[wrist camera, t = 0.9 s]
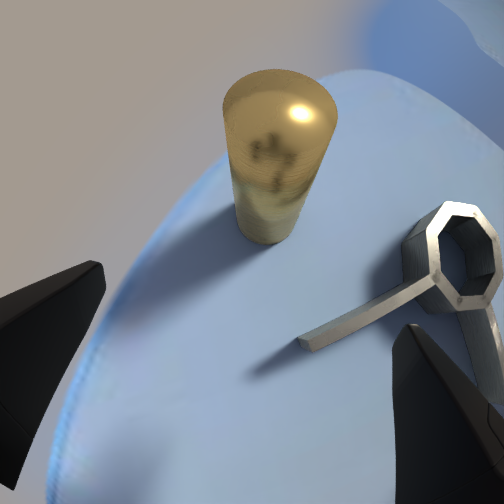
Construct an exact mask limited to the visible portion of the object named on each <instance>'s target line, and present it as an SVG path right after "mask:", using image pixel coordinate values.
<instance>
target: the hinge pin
mask: <svg viewBox="0 0 504 504" xmlns="http://www.w3.org/2000/svg"><path fill="white" fill-rule="evenodd" d="M223 117H224V125H225V133H226V140H227V148H228V156H229V164H230V171H231V179H232V186H233V194H234V201H235V209H236V216H237V223H238V226H239V228H240V230H241V232H242V233H243V234H244V235H245V236H246V237H247V238H248V239H249V240H251V241H253V242H255V243H258V244H262V245H271V244H276V243H279V242H281V241H283V240H284V239H285V238H287V237H288V236H289V235H290V233H291V232H292V230H293V228H294V226H295V224H296V221H297V219H298V217H299V214H300V212H301V210H302V207H303V205H304V203H305V200H306V198H307V196H308V193H309V191H310V188H311V186H312V184H313V181H314V179H315V177H316V174H317V172H318V169H319V167H320V164H321V162H322V160H323V157H324V155H325V152H326V150H327V147H328V145H329V143H330V140H331V138H332V135H333V133H334V130H335V128H336V124H337V119H338V113H337V108H336V104H335V102H334V100H333V98H332V97H331V95H330V94H329V92H328V91H327V90H326V89H325V88H324V87H323V86H322V85H320V84H319V83H318V82H316V81H315V80H313V79H312V78H310V77H307V76H305V75H303V74H300V73H297V72H293V71H289V70H280V69H271V70H263V71H258V72H254V73H251V74H249V75H247V76H245V77H243V78H241V79H240V80H238V81H237V82H236V83H235V84H234V85H233V86H232V87H231V88H230V89H229V90H228V92H227V94H226V96H225V98H224V102H223Z"/></svg>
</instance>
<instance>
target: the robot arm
mask: <svg viewBox="0 0 504 504" xmlns="http://www.w3.org/2000/svg"><path fill="white" fill-rule="evenodd" d="M105 291H106V281H105V276H104V269H103V266H102V264H101V263H99V262H96V261H92V260H89V261H86V262H84V263H81V264H79V265H76V266H74V267H71V268H69V269H67V270H64V271H62V272H59V273H57V274H54V275H52V276H50V277H47V278H45V279H43V280H40V281H38V282H36V283H33V284H31V285H29V286H27V287H24V288H22V289H19V290H17V291H15V292H13V293H10V294H8V295H6V296H4V297H2V298H0V483H1V484H2V485H4V486H6V487H7V488H9V489H11V490H14V489H15V487H16V484H17V481H18V478H19V475H20V472H21V470H22V467H23V465H24V462H25V459H26V457H27V454H28V452H29V449H30V447H31V444H32V442H33V438H34V437H35V434H36V432H37V429H38V428H39V425H40V423H41V421H42V418H43V416H44V414H45V412H46V410H47V408H48V406H49V403H50V401H51V399H52V397H53V395H54V393H55V391H56V389H57V387H58V385H59V383H60V381H61V379H62V377H63V375H64V373H65V371H66V369H67V368H68V366H69V363H70V362H71V360H72V358H73V356H74V354H75V352H76V351H77V348H78V347H79V345H80V343H81V341H82V340H83V338H84V336H85V334H86V332H87V330H88V328H89V326H90V324H91V322H92V320H93V317H94V315H95V313H96V311H97V308H98V306H99V304H100V302H101V300H102V298H103V296H104V293H105ZM392 396H393V410H394V426H395V450H396V494H395V504H504V419H503V417H502V416H501V415H500V414H499V413H498V412H497V411H496V409H495V408H494V407H493V406H492V405H491V403H490V402H489V403H488V400H487V399H486V398H485V396H484V395H483V394H482V393H481V392H480V391H479V390H478V388H477V387H476V386H475V385H474V384H473V383H472V382H471V380H470V379H469V378H468V377H467V376H466V375H465V374H464V373H463V372H462V370H461V369H460V368H459V367H458V366H457V365H456V364H455V363H454V362H453V361H452V360H451V359H450V357H449V356H448V355H447V354H446V353H445V352H444V351H443V350H442V349H441V348H440V347H439V346H438V345H437V344H436V343H435V342H434V340H433V339H432V338H431V337H430V336H429V335H428V334H427V333H426V332H425V331H424V330H423V329H422V328H421V327H420V326H419V325H415V324H406V325H405V326H404V327H403V328H402V330H401V332H400V333H399V335H398V337H397V339H396V340H395V342H394V344H393V348H392Z"/></svg>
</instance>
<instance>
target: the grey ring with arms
mask: <svg viewBox="0 0 504 504" xmlns="http://www.w3.org/2000/svg"><path fill="white" fill-rule="evenodd" d="M441 231H446V232H449V233H450V234H451V236H452V237H453V238H454V239H455V240H456V242H457V243H458V244H459V245H460V247H461V248H462V249H463V251H464V252H465V261H466V272H467V281H466V282H465V284H464V286H463V287H462V289H461V290H460V292H459V294H458V292H457V291H456V290H455V288H454V287H453V286H452V285H451V283H450V282H449V281H448V280H447V278H446V277H445V276H444V275H443V273H442V272H441V265H440V254H439V244H438V235H439V233H440V232H441ZM401 249H402V263H403V282H404V283H402V284H400V285H398V286H397V287H395V288H393V289H391V290H389V291H388V292H386V293H384V294H382V295H380V296H379V297H377V298H375V299H373V300H371V301H369V302H367V303H365V304H364V305H362V306H360V307H358V308H356V309H354V310H352V311H350V312H348V313H346V314H344V315H342V316H340V317H338V318H336V319H334V320H332V321H330V322H328V323H326V324H324V325H322V326H320V327H318V328H316V329H314V330H312V331H309V332H307V333H305V334H303V335H301V336H299V337H297V338H298V341H299V343H300V345H301V347H302V348H304V349H306V350H308V351H310V352H312V353H313V352H315V351H317V350H319V349H321V348H323V347H325V346H327V345H329V344H331V343H333V342H335V341H337V340H339V339H341V338H343V337H345V336H347V335H349V334H351V333H353V332H355V331H357V330H359V329H360V328H362V327H364V326H366V325H368V324H370V323H371V322H373V321H375V320H377V319H379V318H380V317H382V316H384V315H386V314H387V313H389V312H391V311H393V310H394V309H396V308H398V307H399V306H401V305H403V304H404V303H406V302H408V301H409V300H411V299H413V298H415V299H416V300H417V301H418V303H419V304H420V305H421V306H422V307H423V309H424V310H425V311H426V312H427V313H428V314H438V313H452V312H456V314H457V317H458V320H459V323H460V326H461V329H462V332H463V335H464V338H465V341H466V345H467V348H468V351H469V355H470V358H471V362H472V366H473V369H474V373H475V377H476V381H477V386H478V390H479V391H480V392H481V393H482V394H483V395H484V396H485V398H486V399H487V400H488V402H492V403H496V404H500V405H504V347H503V343H502V339H501V335H500V332H499V328H498V324H497V321H496V318H495V314H494V311H493V308H492V305H491V300H492V299H493V297H494V295H495V293H496V291H497V289H498V287H499V285H500V283H501V281H502V279H503V265H502V256H501V248H500V241H499V237H498V234H497V233H496V231H495V230H494V229H493V227H492V226H491V225H490V223H489V222H488V221H487V219H486V218H485V217H484V215H483V214H482V213H481V212H480V210H479V209H478V208H477V207H476V206H475V205H469V204H462V203H455V202H448V201H446V202H444V203H443V204H441V205H440V206H439V207H437V208H436V209H434V210H433V211H431V212H430V213H429V214H427V215H426V216H424V217H423V218H421V219H420V221H419V222H418V223H417V225H416V226H415V227H414V228H413V230H412V231H411V232H410V234H409V235H408V236H407V237H406V239H405V240H404V241H403V242H402V245H401Z"/></svg>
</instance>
